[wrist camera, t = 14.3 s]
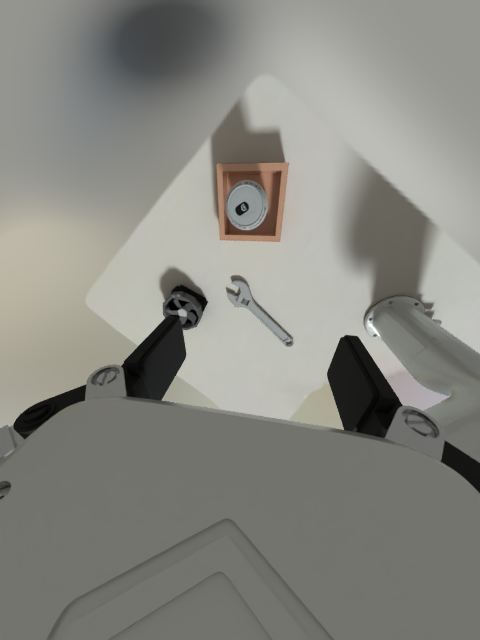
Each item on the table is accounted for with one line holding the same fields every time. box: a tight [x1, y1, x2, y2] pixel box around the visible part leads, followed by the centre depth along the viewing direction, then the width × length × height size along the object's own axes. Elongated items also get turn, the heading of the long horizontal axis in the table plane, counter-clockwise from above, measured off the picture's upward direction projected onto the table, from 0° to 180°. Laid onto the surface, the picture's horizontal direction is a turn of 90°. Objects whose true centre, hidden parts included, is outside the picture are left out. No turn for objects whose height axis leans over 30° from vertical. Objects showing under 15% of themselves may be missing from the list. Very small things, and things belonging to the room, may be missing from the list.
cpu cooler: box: [163, 285, 208, 330], centre depth 51 cm, size 10×6×10 cm
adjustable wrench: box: [227, 280, 294, 347], centre depth 52 cm, size 25×6×2 cm, turn 40°
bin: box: [216, 163, 289, 242], centre depth 36 cm, size 12×12×5 cm
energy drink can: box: [225, 180, 268, 230], centre depth 31 cm, size 6×6×15 cm
